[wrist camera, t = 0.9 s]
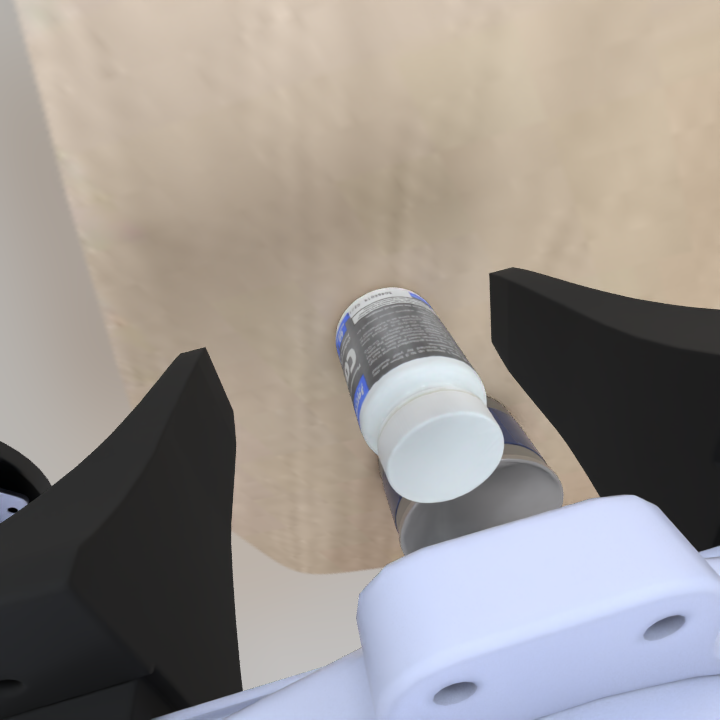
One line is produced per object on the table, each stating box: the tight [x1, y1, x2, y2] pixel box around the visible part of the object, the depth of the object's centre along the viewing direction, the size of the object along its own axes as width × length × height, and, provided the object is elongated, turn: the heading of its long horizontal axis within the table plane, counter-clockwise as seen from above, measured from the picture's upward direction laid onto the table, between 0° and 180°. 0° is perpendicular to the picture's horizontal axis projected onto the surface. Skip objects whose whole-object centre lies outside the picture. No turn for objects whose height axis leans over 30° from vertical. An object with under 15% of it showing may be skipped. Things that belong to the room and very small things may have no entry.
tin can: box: [378, 397, 563, 556], centre depth 25 cm, size 8×8×5 cm
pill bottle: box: [336, 287, 504, 503], centre depth 19 cm, size 5×5×8 cm
